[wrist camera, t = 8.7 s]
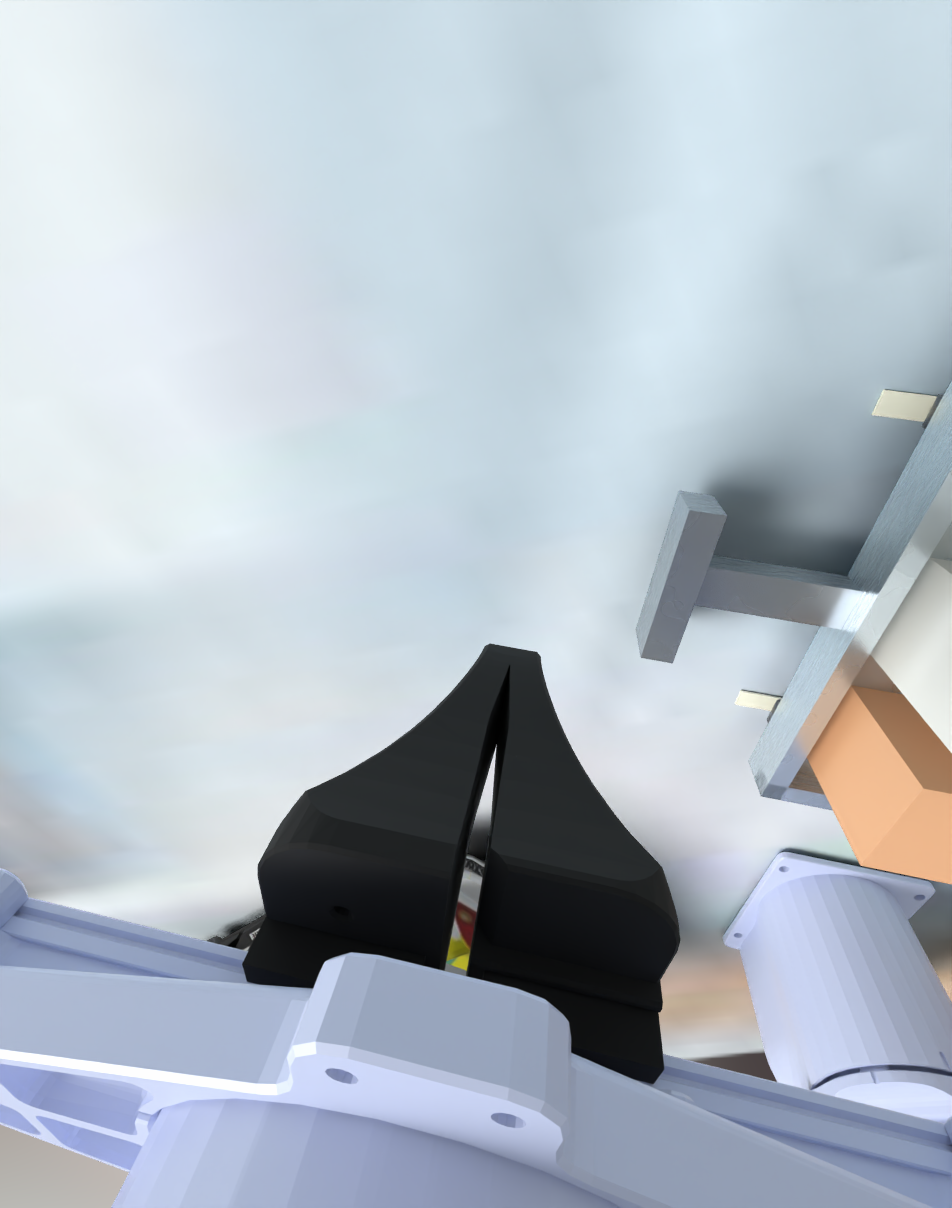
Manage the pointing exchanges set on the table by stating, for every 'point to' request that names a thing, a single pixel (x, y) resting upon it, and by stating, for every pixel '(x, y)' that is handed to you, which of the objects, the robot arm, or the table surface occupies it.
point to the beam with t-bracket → (808, 602)
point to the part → (923, 647)
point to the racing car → (460, 932)
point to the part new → (888, 784)
